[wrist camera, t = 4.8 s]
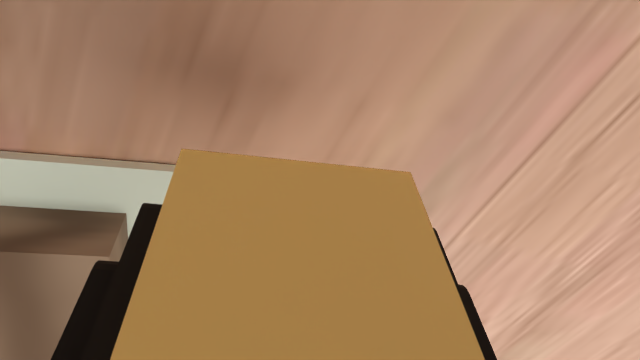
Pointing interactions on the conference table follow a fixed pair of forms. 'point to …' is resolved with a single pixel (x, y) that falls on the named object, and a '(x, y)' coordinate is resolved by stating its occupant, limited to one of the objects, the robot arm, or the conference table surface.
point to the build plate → (81, 183)
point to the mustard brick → (293, 268)
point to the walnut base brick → (48, 272)
